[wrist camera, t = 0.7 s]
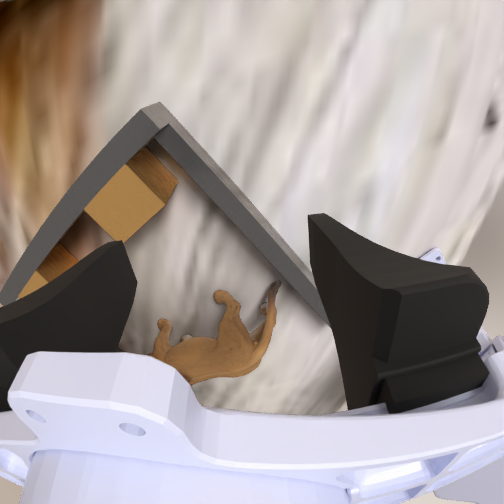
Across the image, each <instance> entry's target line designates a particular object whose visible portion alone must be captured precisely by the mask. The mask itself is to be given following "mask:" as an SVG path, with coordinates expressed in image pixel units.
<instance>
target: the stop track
mask: <svg viewBox="0 0 504 504" xmlns="http://www.w3.org/2000/svg"><path fill="white" fill-rule="evenodd" d="M154 138H155V139H156V140H157V141H158V142H159V143H160V145H161V146H162V147H163V148H164V149H165V150H166V151H167V152H168V153H169V154H170V155H171V156H172V157H173V158H174V159H175V161H176V162H177V163H178V164H179V165H180V166H181V167H182V168H183V169H184V170H185V171H186V172H187V173H188V174H189V175H190V177H191V178H192V179H193V180H194V181H195V182H196V183H197V184H198V185H199V186H200V187H201V188H202V189H203V190H204V192H205V193H206V194H207V195H208V196H209V197H210V198H211V199H212V200H213V201H214V202H215V203H216V204H217V205H218V207H219V208H220V209H221V210H222V211H223V212H224V213H225V214H226V215H227V216H228V217H229V218H230V219H231V220H232V222H233V223H234V224H235V225H236V226H237V227H238V228H239V229H240V230H241V231H242V232H243V233H244V234H245V236H246V237H247V238H248V239H249V240H250V241H251V242H252V243H253V244H254V245H255V246H256V247H257V248H258V250H259V251H260V252H261V253H262V254H263V255H264V256H265V257H266V258H267V259H268V260H269V261H270V263H271V264H272V265H273V266H274V267H275V268H276V269H277V270H278V271H279V272H280V273H281V274H282V275H283V277H284V278H285V279H286V280H287V281H288V282H289V283H290V284H291V285H292V286H293V287H294V288H295V290H296V291H297V292H298V293H299V294H300V295H301V296H302V297H303V298H304V299H305V300H306V302H307V303H308V304H309V305H310V306H311V307H312V308H313V309H314V310H315V311H316V312H317V313H318V315H319V316H320V317H321V318H322V319H323V320H324V321H325V322H326V323H327V324H328V325H329V327H330V328H331V326H330V323H329V320H328V317H327V315H326V312H325V309H324V307H323V304H322V301H321V299H320V296H319V293H318V290H317V288H316V285H315V282H314V277H313V274H312V273H311V271H310V270H309V269H308V268H307V267H306V266H305V264H304V263H303V262H302V261H301V260H300V258H299V257H298V256H297V255H296V254H295V253H294V251H293V250H292V249H291V248H290V247H289V246H288V244H287V243H286V242H285V241H284V240H283V239H282V237H281V236H280V235H279V234H278V233H277V232H276V230H275V229H274V228H273V227H272V226H271V225H270V223H269V222H268V221H267V220H266V219H265V218H264V217H263V215H262V214H261V213H260V212H259V211H258V210H257V209H256V207H255V206H254V205H253V204H252V203H251V202H250V201H249V199H248V198H247V197H246V196H245V195H244V194H243V193H242V191H241V190H240V189H239V188H238V187H237V186H236V185H235V184H234V182H233V181H232V180H231V179H230V178H229V177H228V176H227V175H226V173H225V172H224V171H223V170H222V169H221V168H220V167H219V166H218V165H217V163H216V162H215V161H214V160H213V159H212V158H211V157H210V156H209V155H208V153H207V152H206V151H205V150H204V149H203V148H202V147H201V146H200V145H199V144H198V142H197V141H196V140H195V139H194V138H193V137H192V136H191V135H190V134H189V133H188V131H187V130H186V129H185V128H184V127H183V126H182V125H181V124H180V123H179V122H178V121H177V120H176V118H175V117H174V116H173V115H172V114H171V113H170V112H169V111H168V110H167V109H166V108H165V107H164V106H163V104H162V103H161V102H158V103H155V104H153V105H150V106H147V107H145V108H142V109H140V110H139V111H138V112H137V113H136V114H135V115H134V116H133V117H132V118H131V119H130V121H129V122H128V123H127V124H126V125H125V126H124V127H123V128H122V129H121V130H120V131H119V132H118V133H117V134H116V135H115V136H114V137H113V138H112V139H111V141H110V142H109V143H108V144H107V145H106V146H105V147H104V148H103V149H102V150H101V152H100V153H99V154H98V155H97V156H96V157H95V158H94V160H93V161H92V162H91V163H90V164H89V165H88V167H87V168H86V169H85V170H84V171H83V173H82V174H81V175H80V176H79V177H78V179H77V180H76V181H75V182H74V184H73V185H72V186H71V187H70V189H69V190H68V191H67V193H66V194H65V195H64V196H63V198H62V199H61V200H60V202H59V203H58V204H57V206H56V207H55V208H54V210H53V211H52V212H51V214H50V215H49V217H48V218H47V219H46V221H45V222H44V224H43V225H42V226H41V228H40V229H39V231H38V232H37V234H36V235H35V237H34V238H33V240H32V241H31V243H30V244H29V246H28V247H27V249H26V250H25V252H24V253H23V255H22V257H21V258H20V260H19V261H18V263H17V265H16V266H15V268H14V270H13V271H12V273H11V275H10V276H9V278H8V280H7V281H6V283H5V285H4V287H3V289H2V290H1V292H0V303H1V304H2V305H3V306H6V305H8V304H10V303H12V302H15V301H16V300H17V298H18V297H19V298H22V297H24V296H26V295H28V294H30V293H32V292H34V291H36V290H37V289H39V288H41V287H42V286H44V285H46V284H47V283H49V282H50V281H52V280H54V279H55V278H56V277H58V276H59V275H61V274H62V273H64V272H65V271H66V270H68V269H69V268H71V267H72V266H74V265H75V264H76V263H78V262H79V261H78V260H77V259H75V258H74V257H73V256H72V255H71V254H70V253H69V252H68V251H67V250H66V249H65V248H64V247H63V246H62V245H61V244H60V243H59V242H60V241H61V239H62V238H63V237H64V236H65V234H66V233H67V232H68V231H69V229H70V228H71V227H72V226H73V224H74V223H75V222H76V221H77V220H78V218H79V217H80V216H81V215H82V214H83V213H84V211H86V212H87V213H88V214H89V215H90V216H91V217H92V218H93V219H94V220H95V221H96V222H97V223H98V224H99V225H100V226H101V227H102V228H103V229H104V230H105V231H106V232H107V233H108V234H109V235H110V236H111V237H112V238H113V239H114V240H115V241H119V240H122V241H123V243H124V242H125V241H127V240H128V239H129V238H130V237H131V236H132V235H133V234H134V233H135V232H136V231H137V230H138V229H139V228H140V227H142V226H143V225H144V224H145V223H146V222H147V221H148V220H149V219H150V218H151V217H152V216H154V215H155V214H156V213H157V212H158V211H159V210H160V209H161V208H163V207H164V206H165V205H166V203H167V201H168V199H169V197H170V195H171V193H172V192H173V190H174V188H175V186H176V184H177V183H178V180H177V179H176V178H175V177H174V176H173V175H172V174H171V173H170V172H169V171H168V170H167V169H166V168H165V167H164V166H163V165H162V164H161V162H160V161H159V160H158V159H157V158H156V157H155V156H154V155H153V154H152V153H151V152H150V151H149V150H148V149H147V148H146V146H147V145H148V144H149V143H150V142H151V141H152V140H153V139H154ZM117 352H123V351H122V350H120V349H119V348H117V351H116V353H117Z"/></svg>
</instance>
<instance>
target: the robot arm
mask: <svg viewBox="0 0 504 504" xmlns="http://www.w3.org/2000/svg"><path fill="white" fill-rule="evenodd" d="M308 229H309V249H310V264H311V268H312V273H313V277H314V282H315V285H316V288H317V290H318V293H319V296H320V299H321V301H322V304H323V307H324V309H325V312H326V315H327V317H328V320H329V323H330V326H331V329H332V332H333V335H334V339H335V344H336V348H337V353H338V357H339V362H340V367H341V373H342V378H343V383H344V389H345V395H346V401H347V407H348V411H342V412H336V413H330V414H324V415H292V414H275V413H261V412H250V411H240V410H231V409H222V408H214V407H207V406H202V405H200V403H199V402H198V401H197V399H196V397H195V395H194V393H193V391H192V388H191V386H190V384H189V383H188V382H187V381H186V380H185V379H184V378H183V377H182V375H181V374H180V373H179V372H178V371H177V370H176V369H175V368H174V367H172V366H170V365H168V364H166V363H164V362H162V361H160V360H158V359H156V358H154V357H152V356H147V355H141V354H135V353H128V352H117V353H116V351H117V348H118V344H119V342H120V339H121V336H122V333H123V330H124V327H125V325H126V322H127V319H128V316H129V313H130V311H131V308H132V305H133V302H134V297H135V293H136V287H137V280H136V277H135V275H134V272H133V269H132V267H131V264H130V261H129V258H128V256H127V253H126V250H125V247H124V244H123V241H122V240H119V241H113V242H108V243H106V244H104V245H102V246H101V247H99V248H97V249H96V250H94V251H93V252H92V253H90V254H89V255H87V256H86V257H85V258H83V259H82V260H80V261H79V262H78V263H76V264H75V265H74V266H72V267H71V268H69V269H68V270H66V271H65V272H64V273H62V274H61V275H59V276H58V277H56V278H55V279H54V280H52V281H50V282H49V283H47V284H46V285H44V286H42V287H41V288H39V289H37V290H36V291H34V292H32V293H30V294H28V295H26V296H24V297H22V298H20V299H19V300H17V301H15V302H12V303H10V304H8V305H6V306H3V307H1V308H0V476H1V477H3V478H5V479H7V480H9V481H12V482H13V483H15V484H18V485H20V486H22V487H23V490H22V494H21V497H20V501H19V504H400V503H403V502H406V501H408V500H411V499H414V498H417V497H419V496H421V495H424V494H427V493H429V492H431V491H433V492H434V494H435V496H436V497H438V498H441V499H447V500H455V501H464V502H473V503H477V504H504V336H500V335H498V336H496V337H495V338H494V339H493V341H492V340H491V339H490V338H489V336H488V335H487V333H486V332H485V330H484V329H483V327H482V326H481V325H482V323H483V320H484V318H485V315H486V312H487V308H488V305H489V293H488V290H487V287H486V286H485V284H484V283H483V282H482V281H481V280H480V278H479V277H478V276H477V275H476V274H475V273H474V271H473V270H472V269H471V268H470V267H462V266H454V265H446V263H445V260H444V258H443V255H442V253H441V251H440V250H439V248H434V249H432V250H431V251H429V252H428V253H427V254H425V255H424V256H422V257H421V258H419V259H417V258H414V257H411V256H407V255H404V254H401V253H398V252H395V251H393V250H390V249H388V248H385V247H383V246H381V245H378V244H376V243H374V242H372V241H370V240H368V239H366V238H364V237H363V236H361V235H359V234H357V233H355V232H354V231H352V230H350V229H349V228H347V227H346V226H344V225H342V224H341V223H339V222H338V221H336V220H335V219H333V218H332V217H330V216H328V215H327V214H325V213H321V214H313V215H308ZM437 257H438V258H437ZM436 258H437V259H436Z"/></svg>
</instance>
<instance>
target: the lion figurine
mask: <svg viewBox="0 0 504 504" xmlns="http://www.w3.org/2000/svg"><path fill="white" fill-rule="evenodd" d="M280 286H281V281H280V280H278V281H277V282H275V283H273V284H272V286H271V289H270V292H269V297H268V303H264V304H262V305H261V306H260V313H261V314H263V315H266V318H265V320H264V321H263V323H262V324H261V325H260V326H259V327H257V328H256V329H255V330H254V331H253V332H252V333H251V334H250V335H249V333H248V331H247V330H246V328H245V326H244V324H243V323H242V321H241V319H240V317H239V311H240V308H241V305H240V303H239V302H238V301H236V300H235V299H234V298H233V297H232V296H231V295H230V294H229V293H228V292H226V291H223V290H218V291H215V293H214V295H213V297H214V300H215V301H216V302H217V303H218V304H224V303H225V304H226V307H227V308H226V312H225V314H224V316H223V318H222V320H221V322H220V324H219V329H218V338H217V339H215V338H211V337H194V338H193V337H192V336H191V335H184V336H183V337H181V340H180V341H181V343H179V344H177V345H176V346H174V347H172V345H171V343H170V342H169V337H170V334H171V332H172V329H173V328H172V325H171V323H170V321H168V320H165V319H160V320H159V321H158V327H159V329H161V331H160V333H159V335H158V337H157V339H156V341H155V344H154V351H153V353H150V354H148V356H152V357H154V358H156V359H158V360H160V361H162V362H164V363H166V364H168V365H170V366H172V367H174V368H175V369H176V370H177V371H178V372H179V373H180V374H181V375H182V377H183V378H184V379H185V380H186V381H187V382H188V383H189V384H190V386H191V385H193V384H195V383H198V382H201V381H204V380H208V379H211V378H216V377H239V376H244V375H246V374H248V373H250V372H251V371H253V370H254V369H256V368H257V367H258V366H259V364H260V362H261V359H262V357H263V355H264V354H265V352H266V350H267V348H268V345H269V343H270V340H271V336H272V331H273V327H274V326H275V324H276V313H277V311H276V307H275V297H276V294H277V292H278V289H279V287H280Z"/></svg>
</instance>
